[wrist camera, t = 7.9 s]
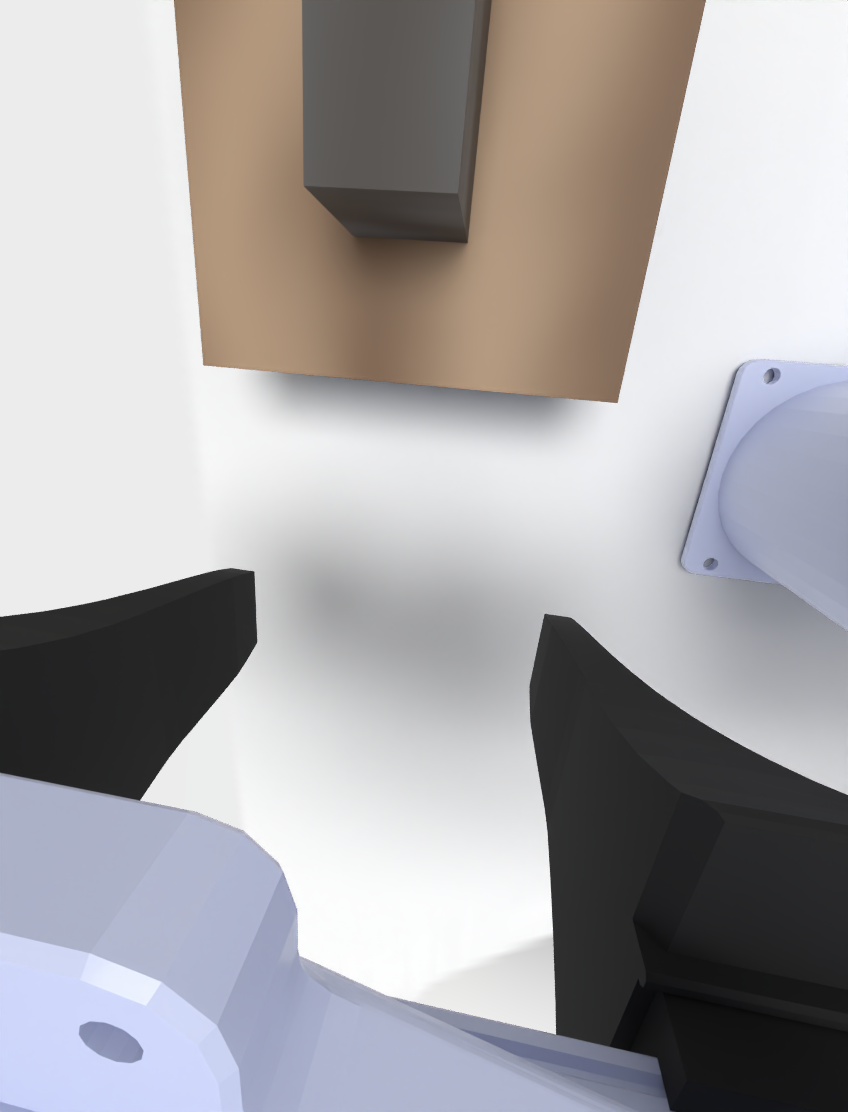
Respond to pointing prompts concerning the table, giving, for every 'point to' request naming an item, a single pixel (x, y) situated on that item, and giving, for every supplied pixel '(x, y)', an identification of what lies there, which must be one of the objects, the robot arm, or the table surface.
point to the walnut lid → (430, 184)
